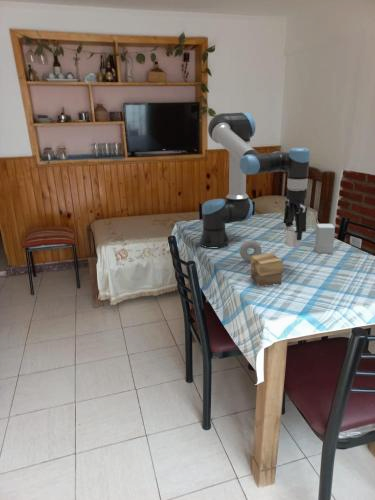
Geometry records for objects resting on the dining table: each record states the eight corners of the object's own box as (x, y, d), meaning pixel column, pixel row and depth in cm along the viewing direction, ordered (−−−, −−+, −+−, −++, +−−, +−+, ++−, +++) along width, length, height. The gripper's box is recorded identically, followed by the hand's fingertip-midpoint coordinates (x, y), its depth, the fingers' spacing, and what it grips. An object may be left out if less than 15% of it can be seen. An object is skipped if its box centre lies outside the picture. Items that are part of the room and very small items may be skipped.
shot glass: (282, 242, 149) (283, 226, 146) (297, 241, 149) (299, 225, 147) (287, 248, 142) (288, 231, 140) (304, 247, 143) (305, 230, 140)
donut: (260, 259, 162) (260, 238, 159) (262, 261, 159) (262, 240, 156) (238, 260, 162) (239, 239, 159) (240, 263, 159) (240, 242, 155)
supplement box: (332, 253, 165) (335, 227, 161) (316, 253, 166) (318, 227, 162) (330, 248, 172) (332, 223, 167) (314, 247, 173) (316, 223, 169)
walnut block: (250, 278, 143) (250, 267, 141) (271, 275, 145) (271, 264, 143) (259, 287, 135) (259, 275, 133) (281, 284, 136) (281, 272, 135)
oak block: (250, 267, 141) (250, 256, 139) (270, 264, 143) (271, 252, 141) (260, 275, 133) (261, 263, 131) (282, 272, 135) (282, 260, 133)
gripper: (319, 192, 129) (313, 251, 137) (293, 184, 147) (290, 236, 155) (300, 194, 128) (296, 253, 136) (277, 185, 146) (274, 237, 154)
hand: (293, 243), depth 145 cm, fingers closed on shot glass, 7 cm apart
